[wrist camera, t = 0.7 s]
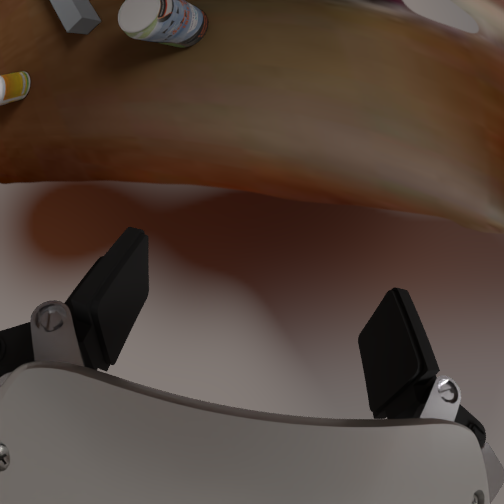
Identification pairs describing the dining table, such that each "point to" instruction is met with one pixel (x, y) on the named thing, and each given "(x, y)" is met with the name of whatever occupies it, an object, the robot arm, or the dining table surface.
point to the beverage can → (163, 21)
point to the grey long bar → (76, 15)
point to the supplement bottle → (13, 87)
